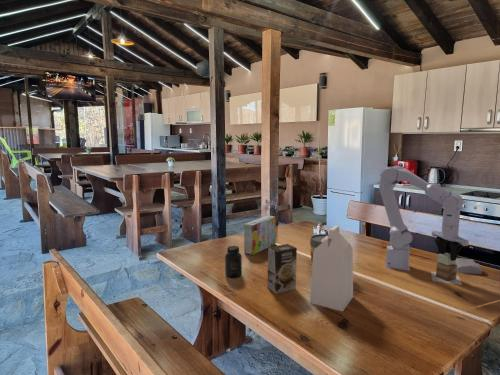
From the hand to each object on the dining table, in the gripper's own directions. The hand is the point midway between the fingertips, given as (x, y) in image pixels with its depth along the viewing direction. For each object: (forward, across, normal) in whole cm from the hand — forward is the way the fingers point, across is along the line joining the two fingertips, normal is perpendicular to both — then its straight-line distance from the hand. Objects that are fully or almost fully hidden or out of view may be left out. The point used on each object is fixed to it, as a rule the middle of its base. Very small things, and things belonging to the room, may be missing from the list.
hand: (447, 258), depth 138 cm
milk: (+9, +3, +52) cm, 53 cm away
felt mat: (+9, 0, 0) cm, 9 cm away
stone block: (+9, +4, -16) cm, 19 cm away
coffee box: (+9, +18, +64) cm, 67 cm away
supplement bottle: (+9, +36, +77) cm, 86 cm away
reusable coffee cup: (+9, +24, +41) cm, 48 cm away
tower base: (+8, 0, 0) cm, 8 cm away
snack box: (+9, +63, +53) cm, 83 cm away
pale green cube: (+2, 0, 0) cm, 2 cm away
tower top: (+5, 0, 0) cm, 5 cm away
